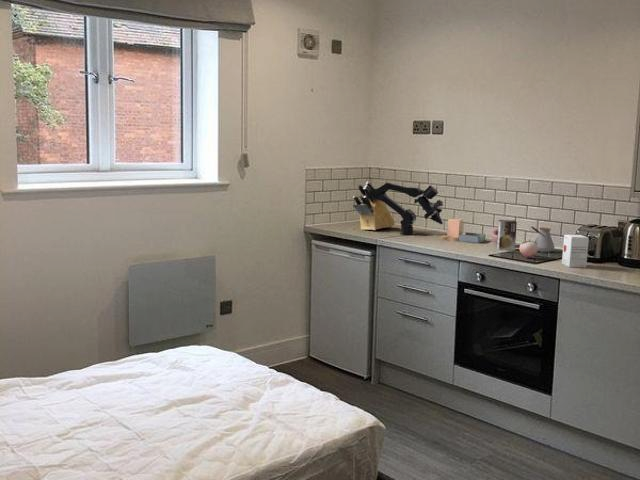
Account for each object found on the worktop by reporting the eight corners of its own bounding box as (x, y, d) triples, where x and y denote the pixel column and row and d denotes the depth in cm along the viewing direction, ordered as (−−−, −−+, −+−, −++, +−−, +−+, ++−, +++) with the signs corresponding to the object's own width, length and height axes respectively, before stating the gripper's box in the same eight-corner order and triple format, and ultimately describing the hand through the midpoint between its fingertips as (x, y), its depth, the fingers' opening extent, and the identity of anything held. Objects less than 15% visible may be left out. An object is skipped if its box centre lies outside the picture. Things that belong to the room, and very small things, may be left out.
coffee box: (513, 248, 401) (515, 220, 398) (515, 250, 394) (517, 221, 392) (496, 247, 401) (498, 219, 399) (498, 249, 395) (500, 220, 393)
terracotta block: (447, 236, 428) (448, 219, 426) (450, 234, 434) (451, 218, 433) (458, 237, 425) (459, 220, 423) (461, 235, 431) (462, 219, 429)
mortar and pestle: (488, 245, 408) (490, 225, 407) (493, 243, 419) (494, 223, 417) (510, 247, 403) (511, 227, 401) (514, 245, 414) (515, 225, 412)
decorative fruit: (524, 259, 364) (526, 240, 363) (516, 257, 372) (517, 238, 371) (541, 259, 367) (542, 240, 366) (532, 256, 375) (533, 238, 373)
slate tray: (458, 241, 421) (459, 234, 421) (465, 238, 434) (465, 232, 433) (478, 243, 416) (479, 236, 415) (485, 240, 428) (485, 234, 428)
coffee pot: (538, 249, 402) (540, 222, 400) (557, 252, 394) (560, 225, 392) (519, 252, 387) (521, 225, 385) (538, 255, 379) (540, 227, 377)
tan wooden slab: (438, 239, 427) (438, 236, 427) (445, 236, 439) (445, 233, 439) (458, 241, 422) (458, 238, 421) (464, 238, 434) (465, 235, 434)
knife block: (352, 231, 450) (351, 182, 447) (380, 226, 479) (379, 180, 476) (367, 231, 444) (366, 182, 441) (395, 226, 472) (394, 180, 469)
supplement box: (561, 263, 356) (563, 234, 354) (578, 264, 357) (581, 234, 355) (568, 267, 347) (571, 236, 345) (586, 267, 348) (589, 237, 346)
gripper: (430, 196, 424) (447, 216, 420) (440, 194, 440) (456, 214, 437) (417, 208, 428) (433, 228, 425) (427, 206, 445) (443, 225, 442)
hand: (442, 223), depth 432 cm, fingers closed
